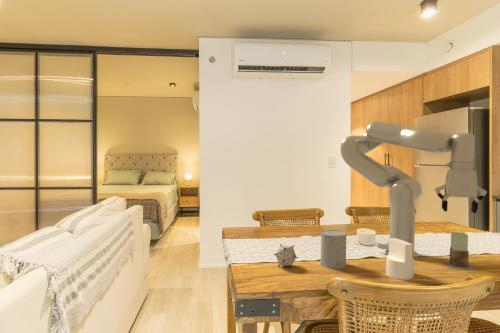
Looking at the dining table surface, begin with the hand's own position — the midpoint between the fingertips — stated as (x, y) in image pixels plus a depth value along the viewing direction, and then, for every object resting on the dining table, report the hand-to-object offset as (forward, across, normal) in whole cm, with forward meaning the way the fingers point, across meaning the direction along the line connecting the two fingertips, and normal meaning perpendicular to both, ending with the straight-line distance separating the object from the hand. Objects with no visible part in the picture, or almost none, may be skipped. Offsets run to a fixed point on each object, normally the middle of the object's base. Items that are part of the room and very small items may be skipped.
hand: (459, 211), depth 135 cm
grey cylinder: (+22, -45, -12) cm, 52 cm away
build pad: (+21, +1, 0) cm, 21 cm away
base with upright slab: (+21, -22, -17) cm, 35 cm away
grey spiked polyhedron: (+22, -62, -19) cm, 69 cm away
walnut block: (+20, +1, 0) cm, 20 cm away
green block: (+14, 0, 0) cm, 14 cm away
